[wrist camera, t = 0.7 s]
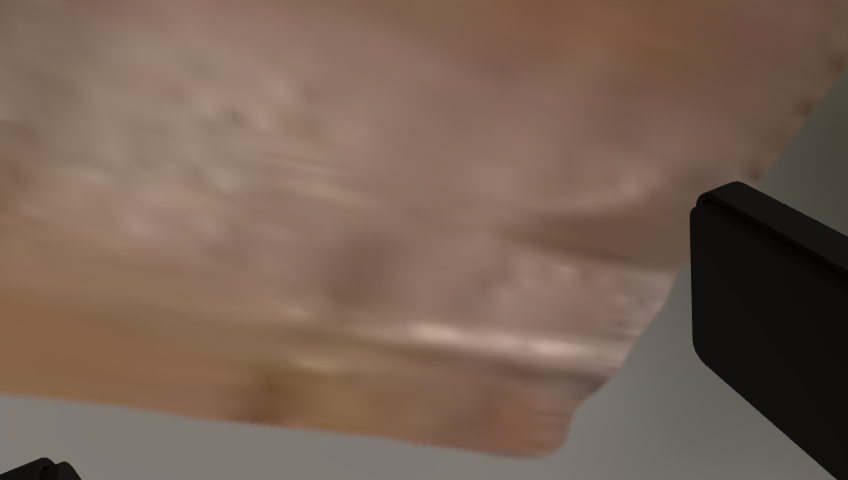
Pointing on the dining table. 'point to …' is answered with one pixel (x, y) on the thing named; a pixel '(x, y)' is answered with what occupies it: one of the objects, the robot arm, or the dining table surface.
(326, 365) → the dining table surface
